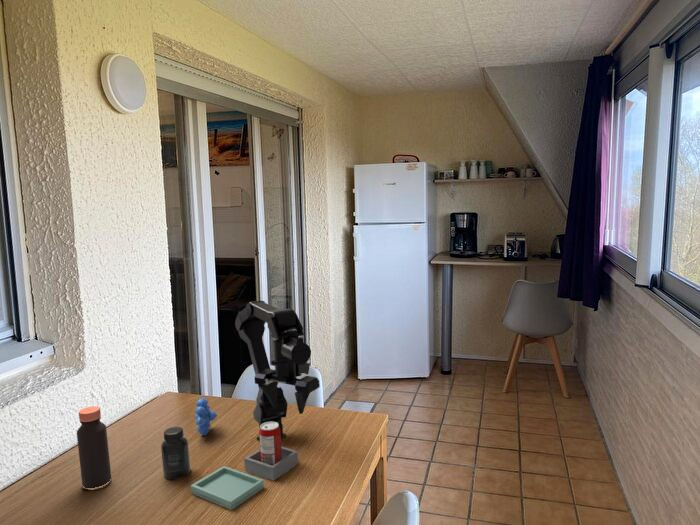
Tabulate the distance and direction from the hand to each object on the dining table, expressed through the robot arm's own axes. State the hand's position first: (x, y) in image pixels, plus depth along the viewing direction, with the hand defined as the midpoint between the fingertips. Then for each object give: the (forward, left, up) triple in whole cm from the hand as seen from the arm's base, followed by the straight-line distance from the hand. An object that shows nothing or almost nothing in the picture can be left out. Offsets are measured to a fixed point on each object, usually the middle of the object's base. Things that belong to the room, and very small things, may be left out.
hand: (288, 410), depth 146 cm
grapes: (-31, -3, -13) cm, 34 cm away
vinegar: (-34, -37, -13) cm, 52 cm away
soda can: (0, -8, -13) cm, 15 cm away
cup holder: (0, -8, -13) cm, 15 cm away
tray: (-2, -22, -13) cm, 25 cm away
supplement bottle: (-20, -23, -13) cm, 33 cm away
